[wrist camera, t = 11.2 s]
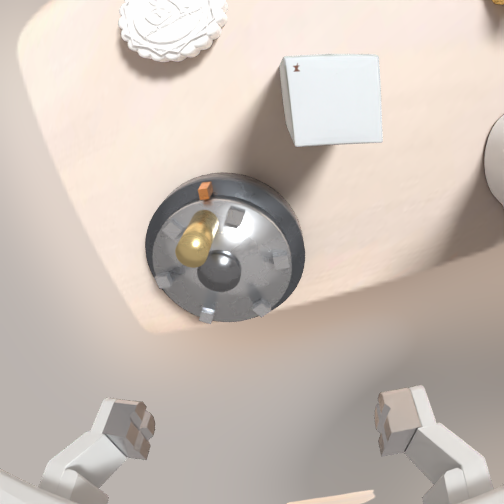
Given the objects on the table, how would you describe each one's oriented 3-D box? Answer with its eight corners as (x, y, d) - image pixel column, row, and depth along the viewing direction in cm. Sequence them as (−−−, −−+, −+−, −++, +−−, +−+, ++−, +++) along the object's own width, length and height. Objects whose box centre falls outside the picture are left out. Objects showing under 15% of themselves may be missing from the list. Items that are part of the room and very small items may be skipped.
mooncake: (204, -43, 25) (198, -54, 21) (245, 35, 30) (242, 30, 27) (115, 4, 27) (101, -1, 24) (150, 80, 33) (138, 80, 29)
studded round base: (138, 212, 37) (107, 248, 30) (275, 181, 35) (276, 212, 27) (183, 318, 45) (168, 364, 37) (300, 302, 42) (304, 350, 35)
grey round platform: (296, 163, 37) (299, 176, 32) (307, 301, 46) (310, 327, 41) (136, 185, 39) (118, 201, 34) (174, 310, 49) (165, 334, 44)
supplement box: (285, 127, 35) (291, 148, 24) (278, 64, 31) (281, 53, 20) (349, 124, 34) (384, 145, 23) (344, 61, 30) (379, 52, 19)
